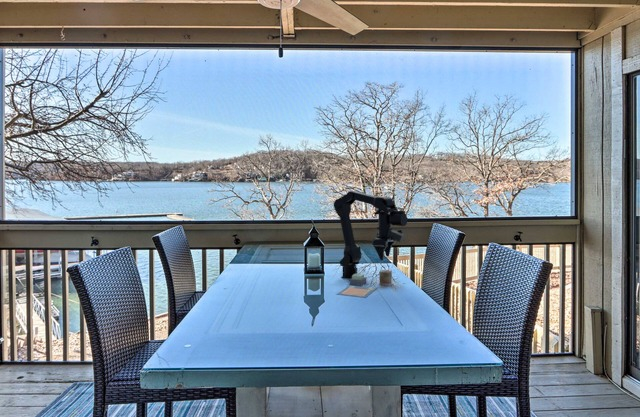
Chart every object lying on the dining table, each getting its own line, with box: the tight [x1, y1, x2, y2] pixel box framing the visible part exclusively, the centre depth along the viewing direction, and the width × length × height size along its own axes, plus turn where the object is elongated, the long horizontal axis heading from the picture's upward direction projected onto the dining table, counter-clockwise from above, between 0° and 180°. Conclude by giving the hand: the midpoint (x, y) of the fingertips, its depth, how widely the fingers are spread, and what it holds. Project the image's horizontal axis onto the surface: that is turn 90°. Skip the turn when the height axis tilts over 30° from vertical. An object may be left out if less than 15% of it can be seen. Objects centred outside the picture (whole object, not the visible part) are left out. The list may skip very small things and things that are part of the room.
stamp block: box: [378, 269, 393, 286], centre depth 194 cm, size 4×4×6 cm
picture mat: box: [336, 285, 377, 299], centre depth 182 cm, size 13×15×1 cm
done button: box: [352, 273, 365, 280], centre depth 195 cm, size 4×4×2 cm
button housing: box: [349, 276, 367, 287], centre depth 195 cm, size 6×6×2 cm
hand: (384, 258), depth 193 cm, fingers open, 9 cm apart
